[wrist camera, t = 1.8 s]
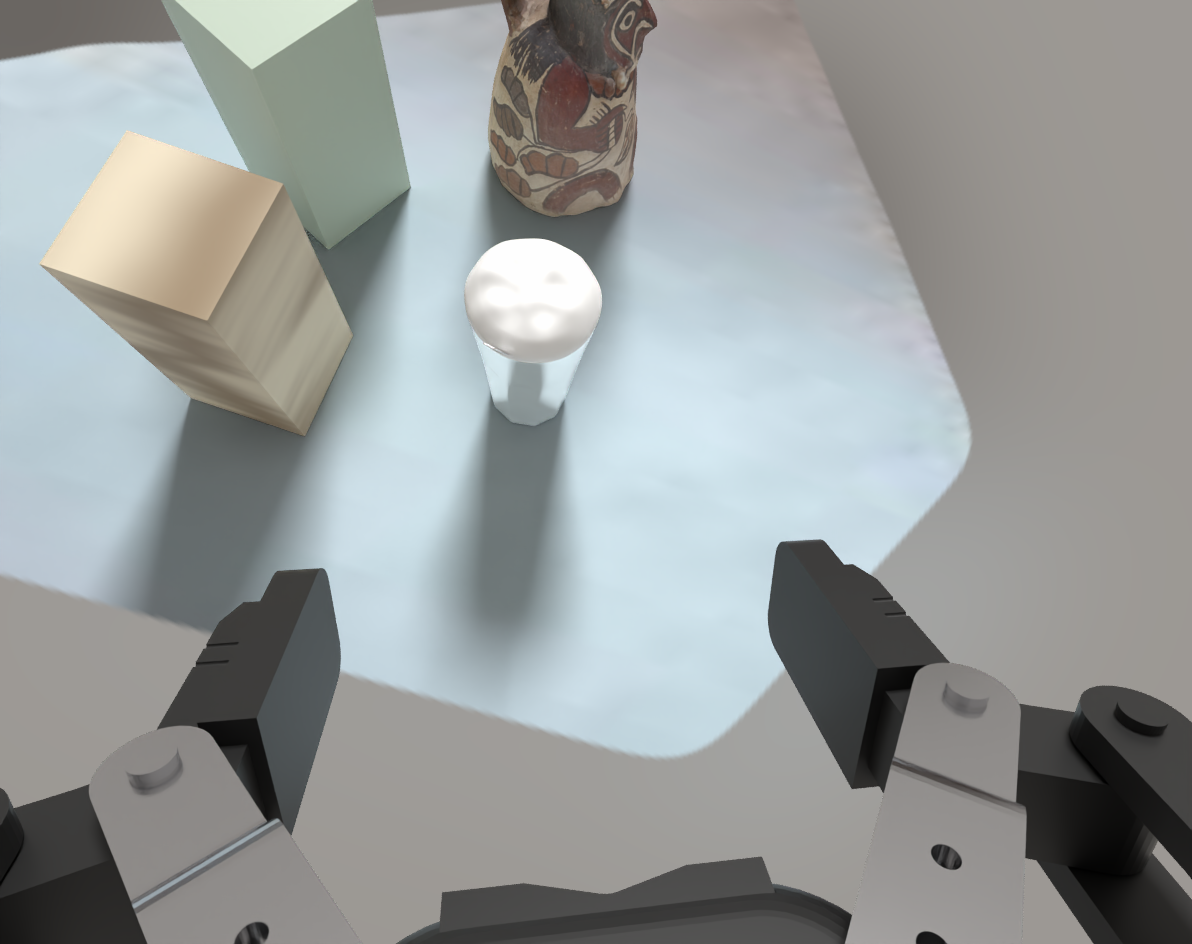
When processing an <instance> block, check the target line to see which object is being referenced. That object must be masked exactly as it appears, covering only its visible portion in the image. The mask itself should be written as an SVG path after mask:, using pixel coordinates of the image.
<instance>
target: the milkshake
mask: <svg viewBox="0 0 1192 944" xmlns="http://www.w3.org/2000/svg"><path fill="white" fill-rule="evenodd" d="M464 297H465V306H466V312H467V316H468V319H469V322H470V325H471V328H472V331H473V334H474V337H475V340H476V343H477V346H478V348H479V351H480V354H481V357H482V361H483V364H484V368H485V371H486V375H487V379H488V383H489V387H490V391H491V394H492V398H493V402H494V406H495V407H496V408H497V409H498V410H499V411H500V412H501V413H502V414H503V415H504V416H505V417H506V418H507V419H508V420H509V421H510V422H512V423H518V424H524V425H530V426H536V425H538V424H541V423H543V422H545V421H547V420H549V419H551V418H553V417H555V416H556V415H557V413H558V411H559V409H560V407H561V405H562V403H563V401H564V400H565V398H566V396H567V393H568V390H569V388H570V385H571V383H572V380H573V377H574V375H575V372H576V369H577V367H578V364H579V362H580V359H581V357H582V356H583V354H584V351H585V349H586V347H587V345H588V343H589V341H590V339H591V336H592V334H593V332H594V330H595V328H596V326H597V323H598V321H599V318H600V314H601V308H602V293H601V289H600V286H599V283H598V281H597V279H596V278H595V276H594V275H593V273H592V271H591V270H590V268H589V267H588V265H587V264H586V262H585V261H584V260H583V259H582V258H581V257H580V256H579V255H578V254H576V253H575V252H573V251H571V250H570V249H568V248H566V247H564V246H562V245H559V244H557V243H555V242H552V241H549V240H545V239H515V240H508V241H504V242H501V243H499V244H497V245H495V246H494V247H492V248H491V249H489V250H488V251H487V252H486V253H485V254H484V255H483V256H482V257H481V258H480V259H479V261H478V262H477V263H476V265H475V266H474V268H473V269H472V271H471V272H470V274H469V276H468V278H467V281H466V284H465V292H464Z"/></svg>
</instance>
